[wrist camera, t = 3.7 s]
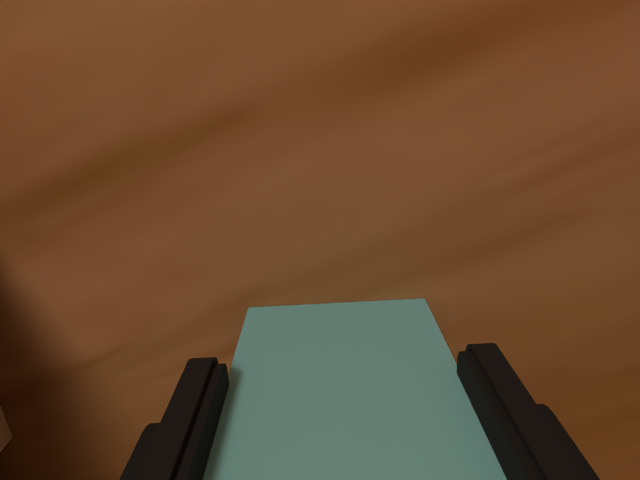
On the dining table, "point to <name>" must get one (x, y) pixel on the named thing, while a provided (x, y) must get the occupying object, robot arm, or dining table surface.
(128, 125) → the dining table surface
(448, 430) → the teal domino
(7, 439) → the domino
